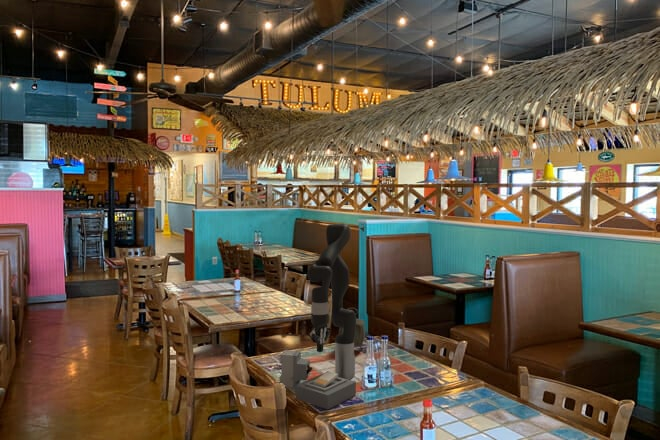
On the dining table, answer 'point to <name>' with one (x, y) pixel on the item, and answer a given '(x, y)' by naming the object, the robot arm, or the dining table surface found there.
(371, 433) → the dining table surface
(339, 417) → the dining table surface
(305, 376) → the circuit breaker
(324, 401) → the box
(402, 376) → the dining table surface
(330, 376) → the breaker rocker
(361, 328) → the tabletop clock
